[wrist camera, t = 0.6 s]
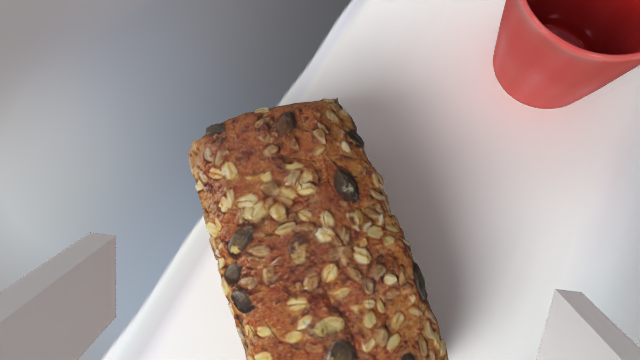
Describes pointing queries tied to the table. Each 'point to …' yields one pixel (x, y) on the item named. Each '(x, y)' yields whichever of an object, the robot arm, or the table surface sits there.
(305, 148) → the bread
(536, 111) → the table surface
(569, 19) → the flower pot
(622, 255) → the table surface
